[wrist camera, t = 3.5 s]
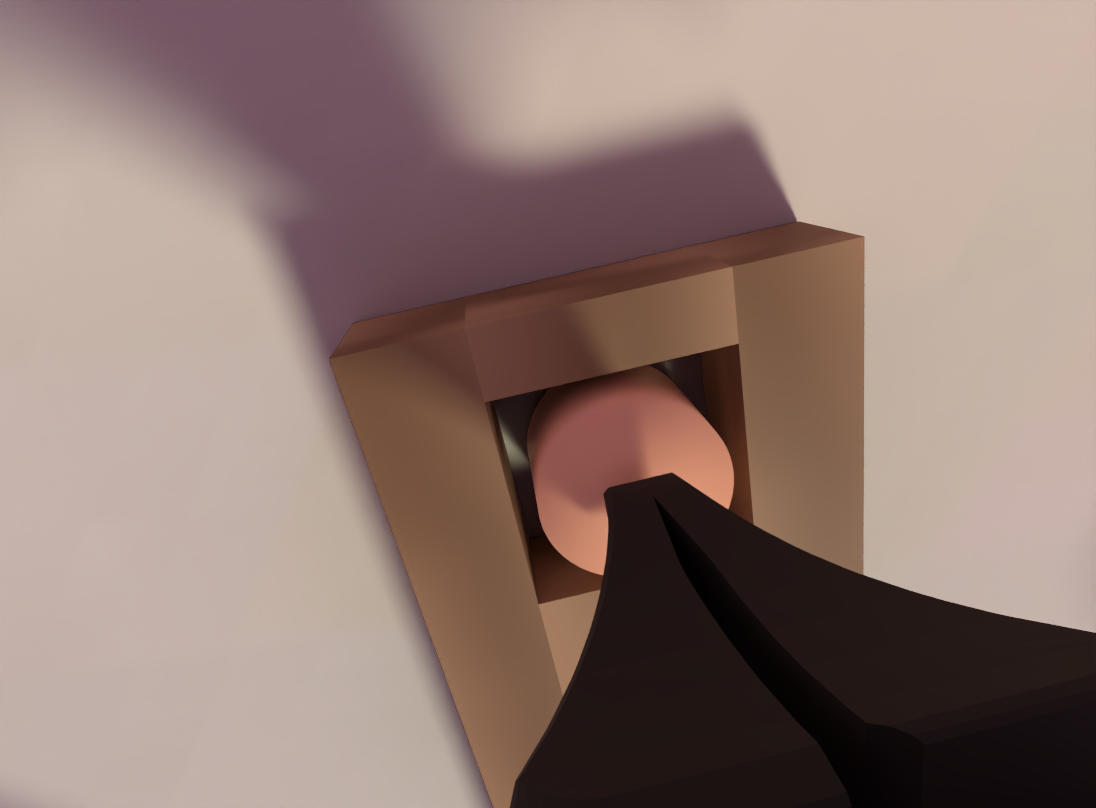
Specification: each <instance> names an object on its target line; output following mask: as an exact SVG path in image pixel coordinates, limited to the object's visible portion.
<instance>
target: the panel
mask: <svg viewBox="0 0 1096 808" xmlns="http://www.w3.org/2000/svg"><path fill="white" fill-rule="evenodd" d="M696 353H700V354H701V363H702V372H703V381H704V390H705V399H706V408H707V418H708V423H709V424H710V425H711V426H712V428H713V429H714V430H715V431H716V432H717V434H718V435H719V436H720V438H721V439H722V440H723V442H724V444H725V446H726V448H727V450H728V452H729V455H730V458H731V461H732V466H733V471H734V487H733V495H732V499H731V503H730V506H729V509H728V510H730V511H732V512H733V513H735V514H737V515H738V516H740V517H742V518H743V519H745V520H747V521H748V522H750V523H752V524H753V525H755V526H757V527H759V528H761V529H762V530H764V531H766V532H768V533H770V534H772V535H774V536H776V537H778V538H780V539H782V540H783V541H785V542H787V543H789V544H791V545H793V546H795V547H797V548H800V549H802V550H804V551H806V552H808V553H810V554H813V555H815V556H817V557H820V558H822V559H825V560H827V561H829V562H832V563H834V564H836V565H839V566H841V567H844V568H846V569H849V570H851V571H854V572H857V573H859V574H862V575H863V502H864V236H860V235H855V234H851V233H847V232H842V231H838V230H834V229H829V228H825V227H821V226H816V225H812V224H807V223H803V222H794V223H790V224H786V225H781V226H777V227H772V228H768V229H764V230H759V231H755V232H750V233H746V234H742V235H737V236H733V237H728V238H724V239H720V240H715V241H711V242H706V243H702V244H698V245H693V246H689V247H684V248H680V249H676V250H671V251H667V252H663V253H658V254H654V255H649V256H645V257H641V258H636V259H632V260H627V261H623V262H619V263H614V264H610V265H605V266H601V267H597V268H592V269H588V270H583V271H579V272H575V273H570V274H566V275H561V276H557V277H553V278H548V279H544V280H540V281H535V282H531V283H526V284H522V285H518V286H513V287H509V288H504V289H500V290H496V291H491V292H487V293H482V294H478V295H474V296H469V297H465V298H460V299H456V300H452V301H447V302H443V303H439V304H434V305H430V306H425V307H421V308H417V309H412V310H408V311H403V312H399V313H395V314H390V315H386V316H381V317H377V318H373V319H368V320H364V321H359V322H355V323H353V324H352V326H351V327H350V329H349V330H348V332H347V333H346V335H345V336H344V338H343V339H342V341H341V342H340V343H339V345H338V346H337V348H336V349H335V351H334V352H333V354H332V355H331V357H330V358H329V361H330V364H331V366H332V369H333V372H334V375H335V377H336V380H337V383H338V386H339V388H340V391H341V394H342V396H343V399H344V402H345V405H346V407H347V410H348V413H349V416H350V418H351V421H352V424H353V426H354V429H355V432H356V435H357V437H358V440H359V443H360V446H361V448H362V451H363V454H364V456H365V459H366V462H367V465H368V467H369V470H370V473H371V476H372V478H373V481H374V484H375V486H376V489H377V492H378V495H379V497H380V500H381V503H382V505H383V508H384V511H385V514H386V516H387V519H388V522H389V525H390V527H391V530H392V533H393V535H394V538H395V541H396V544H397V546H398V549H399V552H400V555H401V557H402V560H403V563H404V565H405V568H406V571H407V574H408V576H409V579H410V582H411V585H412V587H413V590H414V593H415V595H416V598H417V601H418V604H419V606H420V609H421V612H422V615H423V617H424V620H425V623H426V625H427V628H428V631H429V634H430V636H431V639H432V642H433V645H434V647H435V650H436V653H437V655H438V658H439V661H440V664H441V666H442V669H443V672H444V674H445V677H446V680H447V683H448V685H449V688H450V691H451V694H452V696H453V699H454V702H455V704H456V707H457V710H458V713H459V715H460V718H461V721H462V724H463V726H464V729H465V732H466V734H467V737H468V740H469V743H470V745H471V748H472V751H473V754H474V756H475V759H476V762H477V764H478V767H479V770H480V773H481V775H482V778H483V781H484V784H485V786H486V789H487V792H488V794H489V797H490V800H491V803H492V805H493V808H510V804H511V799H512V794H513V790H514V785H515V781H516V779H517V777H518V776H519V774H520V772H521V771H522V769H523V767H524V766H525V764H526V763H527V761H528V759H529V758H530V756H531V754H532V753H533V751H534V749H535V748H536V746H537V744H538V743H539V741H540V739H541V738H542V736H543V734H544V733H545V731H546V729H547V727H548V725H549V724H550V722H551V720H552V718H553V716H554V714H555V712H556V710H557V708H558V706H559V703H560V701H561V699H562V697H563V695H564V693H565V691H566V689H567V687H568V685H569V683H570V681H571V678H572V676H573V674H574V671H575V669H576V667H577V664H578V662H579V659H580V656H581V653H582V651H583V648H584V645H585V642H586V639H587V637H588V634H589V631H590V628H591V624H592V621H593V617H594V614H595V610H596V607H597V603H598V598H599V594H600V590H601V584H602V579H603V575H600V574H596V573H592V572H590V571H587V570H585V569H582V568H580V567H578V566H577V565H575V564H573V563H571V562H570V561H569V560H567V559H566V558H565V557H563V556H562V555H561V554H560V553H559V552H558V551H557V550H556V549H555V548H554V546H553V545H552V544H551V542H550V541H549V539H548V538H547V536H546V535H544V536H540V537H536V538H532V539H529V536H528V532H527V528H526V524H525V521H524V517H523V513H522V509H521V505H520V501H519V497H518V494H517V490H516V486H515V482H514V478H513V474H512V471H511V467H510V463H509V459H508V455H507V451H506V448H505V444H504V440H503V436H502V432H501V428H500V425H499V421H498V417H497V413H496V409H495V405H494V402H493V400H498V399H502V398H506V397H511V396H515V395H519V394H524V393H528V392H532V391H537V390H541V389H545V388H549V387H554V386H558V385H562V384H567V383H571V382H575V381H580V380H584V379H588V378H593V377H597V376H601V375H606V374H610V373H614V372H618V371H623V370H627V369H631V368H636V367H640V366H644V365H649V364H653V363H657V362H662V361H666V360H670V359H675V358H679V357H683V356H688V355H692V354H696Z"/></svg>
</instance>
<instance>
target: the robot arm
mask: <svg viewBox="0 0 1096 808" xmlns="http://www.w3.org/2000/svg"><path fill="white" fill-rule="evenodd" d="M603 496H604V501H605V506H606V512H607V517H608V541H607V554H606V561H605V567H604V573H603V579H602V584H601V590H600V594H599V598H598V603H597V607H596V610H595V614H594V617H593V621H592V624H591V628H590V631H589V634H588V637H587V639H586V642H585V645H584V648H583V651H582V653H581V656H580V659H579V662H578V664H577V667H576V669H575V671H574V674H573V676H572V678H571V681H570V683H569V685H568V687H567V689H566V691H565V693H564V695H563V697H562V699H561V701H560V703H559V706H558V708H557V710H556V712H555V714H554V716H553V718H552V720H551V722H550V724H549V725H548V727H547V729H546V731H545V733H544V734H543V736H542V738H541V739H540V741H539V743H538V744H537V746H536V748H535V749H534V751H533V753H532V754H531V756H530V758H529V759H528V761H527V763H526V764H525V766H524V767H523V769H522V771H521V772H520V774H519V776H518V777H517V779H516V781H515V785H514V790H513V794H512V799H511V804H510V808H1096V633H1093V632H1088V631H1083V630H1077V629H1072V628H1067V627H1062V626H1056V625H1051V624H1046V623H1041V622H1035V621H1030V620H1025V619H1020V618H1014V617H1009V616H1004V615H1000V614H995V613H991V612H987V611H983V610H979V609H975V608H971V607H967V606H963V605H959V604H955V603H951V602H947V601H943V600H940V599H937V598H933V597H930V596H926V595H923V594H919V593H916V592H912V591H909V590H906V589H903V588H900V587H897V586H894V585H891V584H888V583H885V582H882V581H879V580H876V579H873V578H870V577H867V576H865V575H862V574H859V573H857V572H854V571H851V570H849V569H846V568H844V567H841V566H839V565H836V564H834V563H832V562H829V561H827V560H825V559H822V558H820V557H817V556H815V555H813V554H810V553H808V552H806V551H804V550H802V549H800V548H797V547H795V546H793V545H791V544H789V543H787V542H785V541H783V540H782V539H780V538H778V537H776V536H774V535H772V534H770V533H768V532H766V531H764V530H762V529H761V528H759V527H757V526H755V525H753V524H752V523H750V522H748V521H747V520H745V519H743V518H742V517H740V516H738V515H737V514H735V513H733V512H732V511H730V510H728V509H727V508H725V507H724V506H722V505H721V504H719V503H717V502H716V501H714V500H713V499H711V498H710V497H708V496H707V495H705V494H704V493H702V492H701V491H699V490H698V489H696V488H695V487H693V486H692V485H691V484H689V483H688V482H686V481H685V480H683V479H682V478H680V477H679V476H677V475H675V474H674V473H672V472H671V473H667V474H663V475H659V476H654V477H650V478H646V479H642V480H638V481H633V482H629V483H625V484H621V485H617V486H612V487H608V488H607V490H606V491H605V492H604V494H603Z"/></svg>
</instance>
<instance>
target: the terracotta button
mask: <svg viewBox="0 0 1096 808" xmlns="http://www.w3.org/2000/svg"><path fill="white" fill-rule="evenodd" d="M527 450H528V456H529V462H530V467H531V473H532V479H533V484H534V490H535V496H536V501H537V507H538V513H539V518H540V521H541V524H542V527H543V530H544V532H545V534H546V536H547V538H548V539H549V541H550V542H551V544H552V545H553V546H554V548H555V549H556V550H557V551H558V552H559V553H560V554H561V555H562V556H563V557H565V558H566V559H567V560H569V561H570V562H571V563H573V564H575V565H577V566H578V567H580V568H582V569H585V570H587V571H590V572H592V573H596V574H600V575H603V573H604V567H605V561H606V554H607V541H608V517H607V512H606V506H605V501H604V496H603V494H604V492H605V491H606V490H607V488H608V487H612V486H617V485H621V484H625V483H629V482H633V481H638V480H642V479H646V478H650V477H654V476H659V475H663V474H667V473H671V472H672V473H674V474H675V475H677V476H679V477H680V478H682V479H683V480H685V481H686V482H688V483H689V484H691V485H692V486H693V487H695V488H696V489H698V490H699V491H701V492H702V493H704V494H705V495H707V496H708V497H710V498H711V499H713V500H714V501H716V502H717V503H719V504H721V505H722V506H724V507H725V508H727V509H729V506H730V503H731V499H732V495H733V487H734V471H733V466H732V461H731V458H730V455H729V452H728V450H727V448H726V446H725V444H724V442H723V440H722V439H721V438H720V436H719V435H718V434H717V432H716V431H715V430H714V429H713V428H712V426H711V425H710V424H709V423H708V422H707V420H706V419H705V418H704V417H703V416H702V415H701V413H700V412H699V411H698V410H697V409H696V408H695V406H694V405H693V404H692V403H691V402H690V400H689V399H688V398H687V397H686V396H685V395H684V393H683V392H682V391H681V390H680V389H679V388H678V386H677V385H676V384H675V383H674V382H673V381H672V380H671V379H670V378H669V377H667V376H666V375H665V374H663V373H662V372H661V371H659V370H657V369H655V368H653V367H651V366H649V365H644V366H640V367H636V368H631V369H627V370H623V371H618V372H614V373H610V374H606V375H601V376H597V377H593V378H588V379H584V380H580V381H575V382H571V383H567V384H562V385H558V386H554V387H551V388H550V389H549V390H548V391H547V392H546V393H545V395H544V396H543V397H542V398H541V400H540V401H539V403H538V405H537V407H536V408H535V410H534V413H533V415H532V417H531V421H530V424H529V428H528V435H527Z"/></svg>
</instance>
